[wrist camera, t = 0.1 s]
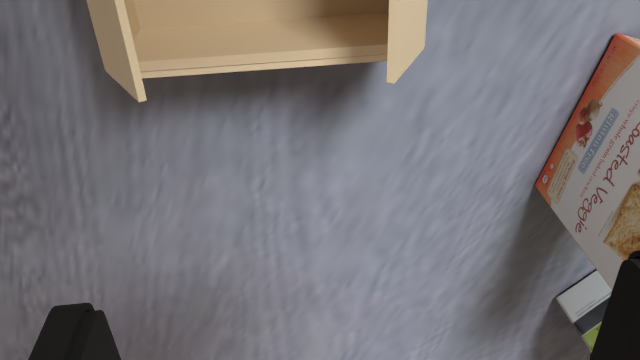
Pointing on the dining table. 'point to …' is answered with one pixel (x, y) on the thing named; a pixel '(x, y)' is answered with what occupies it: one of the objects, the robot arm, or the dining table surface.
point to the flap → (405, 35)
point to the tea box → (587, 306)
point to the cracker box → (601, 163)
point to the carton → (254, 34)
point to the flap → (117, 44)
